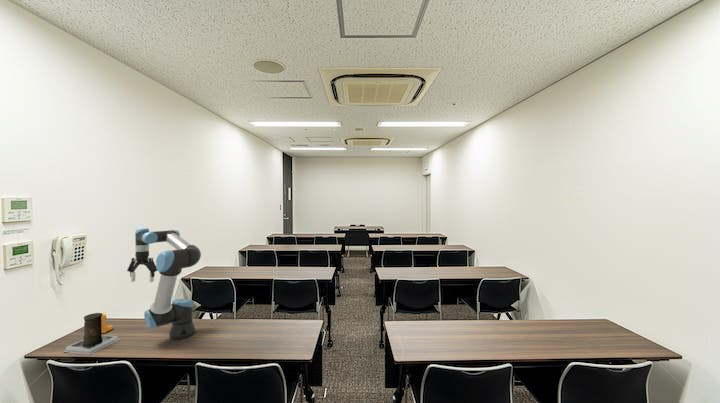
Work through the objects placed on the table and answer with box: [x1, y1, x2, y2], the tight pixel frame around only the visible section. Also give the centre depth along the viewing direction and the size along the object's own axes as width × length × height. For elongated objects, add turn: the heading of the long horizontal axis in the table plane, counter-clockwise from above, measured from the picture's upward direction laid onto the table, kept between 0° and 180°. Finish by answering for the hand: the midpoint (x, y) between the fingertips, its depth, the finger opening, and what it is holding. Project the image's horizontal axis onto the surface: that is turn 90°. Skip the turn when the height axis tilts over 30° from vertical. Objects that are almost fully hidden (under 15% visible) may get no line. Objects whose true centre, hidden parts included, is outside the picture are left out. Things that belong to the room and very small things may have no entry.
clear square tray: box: [62, 334, 120, 356], centre depth 178 cm, size 18×18×3 cm
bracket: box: [101, 313, 114, 334], centre depth 198 cm, size 11×7×12 cm, turn 92°
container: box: [82, 312, 103, 348], centre depth 178 cm, size 9×9×18 cm
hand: (142, 281), depth 200 cm, fingers open, 13 cm apart
